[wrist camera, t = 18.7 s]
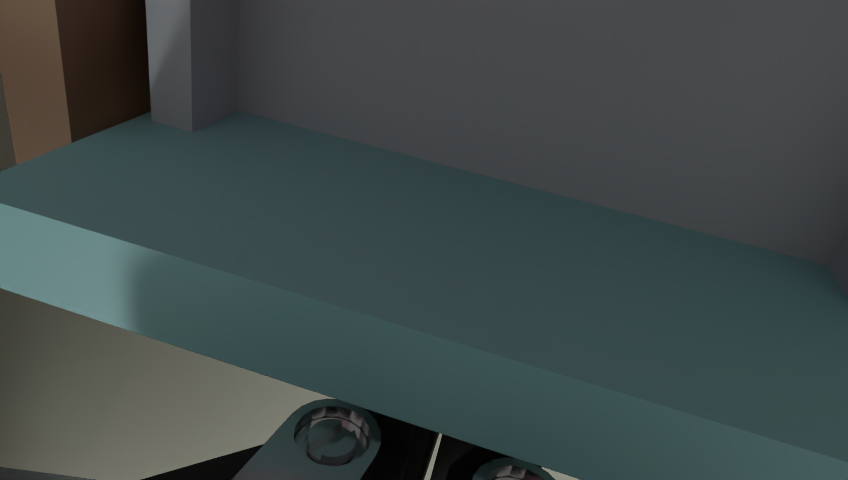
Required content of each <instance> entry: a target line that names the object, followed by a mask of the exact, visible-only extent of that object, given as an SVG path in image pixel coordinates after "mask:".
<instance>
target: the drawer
mask: <svg viewBox="0 0 848 480" xmlns="http://www.w3.org/2000/svg"><path fill="white" fill-rule="evenodd" d="M146 20H147V40H148V60H149V79H150V99H151V112H148V113H146V114H143V115H141V116H138V117H136V118H133V119H131V120H128V121H126V122H123V123H121V124H118V125H116V126H113V127H111V128H108V129H106V130H103V131H101V132H98V133H95V134H93V135H90V136H88V137H85V138H83V139H80V140H78V141H75V142H73V143H70V144H68V145H65V146H63V147H60V148H58V149H55V150H53V151H50V152H48V153H45V154H43V155H40V156H38V157H35V158H33V159H30V160H28V161H25V162H22V163H20V164H17V165H15V166H12V167H10V168H7V169H5V170H2V171H0V288H1V289H4V290H7V291H11V292H14V293H17V294H20V295H23V296H26V297H29V298H32V299H35V300H38V301H41V302H44V303H47V304H50V305H53V306H56V307H59V308H62V309H65V310H68V311H71V312H74V313H77V314H80V315H83V316H86V317H89V318H92V319H95V320H98V321H101V322H105V323H108V324H111V325H114V326H117V327H120V328H123V329H126V330H129V331H132V332H135V333H138V334H141V335H144V336H147V337H150V338H153V339H156V340H159V341H162V342H165V343H168V344H171V345H174V346H177V347H180V348H183V349H186V350H189V351H192V352H196V353H199V354H202V355H205V356H208V357H211V358H214V359H217V360H220V361H223V362H226V363H229V364H232V365H235V366H238V367H241V368H244V369H247V370H250V371H253V372H256V373H259V374H262V375H265V376H268V377H271V378H274V379H277V380H280V381H283V382H286V383H290V384H293V385H296V386H299V387H302V388H305V389H308V390H311V391H314V392H317V393H320V394H323V395H326V396H329V397H332V398H335V399H338V400H341V401H344V402H347V403H350V404H353V405H356V406H359V407H362V408H365V409H368V410H371V411H374V412H377V413H381V414H384V415H387V416H390V417H393V418H396V419H399V420H402V421H405V422H408V423H411V424H414V425H417V426H420V427H423V428H426V429H429V430H432V431H435V432H438V433H441V434H444V435H447V436H450V437H453V438H456V439H459V440H462V441H465V442H468V443H472V444H475V445H478V446H481V447H484V448H487V449H490V450H493V451H496V452H499V453H502V454H505V455H508V456H511V457H514V458H517V459H520V460H523V461H526V462H529V463H532V464H535V465H538V466H541V467H544V468H547V469H550V470H553V471H556V472H559V473H563V474H566V475H569V476H572V477H575V478H578V479H581V480H848V0H146Z"/></svg>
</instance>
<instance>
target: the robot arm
mask: <svg viewBox="0 0 848 480" xmlns="http://www.w3.org/2000/svg"><path fill="white" fill-rule="evenodd" d="M438 436H439V433H438V432H435V431H432V430H429V429H426V428H423V427H420V426H417V425H414V424H411V423H408V422H405V421H402V420H399V419H396V418H393V417H390V416H387V415H384V414H381V413H377V412H374V411H371V410H368V409H365V408H362V407H359V406H356V405H353V404H350V403H347V402H344V401H341V400H338V399H323V400H316V401H313V402H310V403H308V404H305V405H303V406H301V407H300V408H299V409H297V410H296V411H295V412H294V413H292V414H291V415H290V416H289V418H288V419H287V420H286V421H285V422H284V423H283V424H282V425H281V426H280V427H279V428H278V430H277V431H276V432H275V433H274V434H273V435H272V436H271V437H270V438H269V439H268V440H267V442H266V443H265V444H263V445H259V446H256V447H252V448H249V449H246V450H242V451H239V452H235V453H232V454H228V455H225V456H221V457H218V458H214V459H211V460H207V461H204V462H200V463H197V464H194V465H190V466H187V467H183V468H180V469H176V470H173V471H169V472H166V473H162V474H159V475H155V476H152V477H148V478H145V479H142V480H424V478H425V475H426V472H427V469H428V466H429V463H430V460H431V457H432V454H433V451H434V448H435V445H436V442H437V439H438ZM0 480H94V479H87V478H79V477H72V476H64V475H56V474H49V473H41V472H34V471H26V470H19V469H11V468H3V467H0ZM430 480H555V479H554V478H553V477H552V476H551V475H550V474H549V473H548V472H546V471H545V470H543V469H542V468H541V466H538V465H535V464H532V463H529V462H526V461H523V460H520V459H517V458H514V457H511V456H508V455H505V454H502V453H499V452H496V451H493V450H490V449H487V448H484V447H481V446H478V445H475V444H472V443H468V442H465V441H462V440H459V439H456V438H453V437H450V436H447V435H444V434H442V438H441V442H440V445H439V449H438V453H437V456H436V460H435V464H434V468H433V471H432V475H431V479H430Z"/></svg>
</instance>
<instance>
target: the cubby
mask: <svg viewBox="0 0 848 480" xmlns="http://www.w3.org/2000/svg"><path fill="white" fill-rule="evenodd" d="M0 73H1V78H2V84H3V90H4V96H5V102H6V108H7V114H8V120H9V126H10V132H11V138H12V143H13V149H14V155H15V161H16V165H17V164H20V163H22V162H25V161H28V160H30V159H33V158H35V157H38V156H40V155H43V154H45V153H48V152H50V151H53V150H55V149H58V148H60V147H63V146H65V145H68V144H70V143H73V142H75V141H78V140H80V139H83V138H85V137H88V136H90V135H93V134H95V133H98V132H101V131H103V130H106V129H108V128H111V127H113V126H116V125H118V124H121V123H123V122H126V121H128V120H131V119H133V118H136V117H138V116H141V115H143V114H146V113H148V112H151V99H150V79H149V60H148V40H147V20H146V0H0Z"/></svg>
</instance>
